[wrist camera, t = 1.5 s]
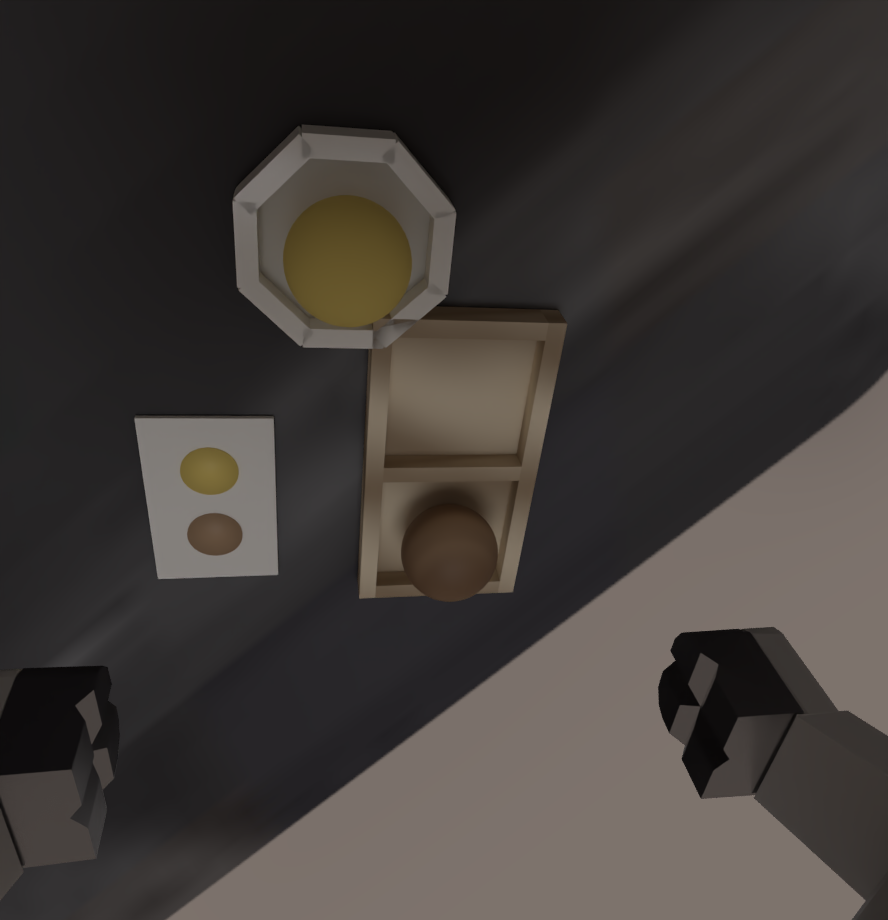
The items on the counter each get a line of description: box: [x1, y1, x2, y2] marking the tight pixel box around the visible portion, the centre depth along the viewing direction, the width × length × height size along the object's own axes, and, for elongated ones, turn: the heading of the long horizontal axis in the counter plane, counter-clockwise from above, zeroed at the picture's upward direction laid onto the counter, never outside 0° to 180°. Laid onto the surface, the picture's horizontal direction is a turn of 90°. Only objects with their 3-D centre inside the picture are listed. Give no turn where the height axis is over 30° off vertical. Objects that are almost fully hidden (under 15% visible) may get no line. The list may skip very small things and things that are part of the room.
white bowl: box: [232, 124, 456, 349], centre depth 25 cm, size 7×7×1 cm
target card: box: [134, 416, 278, 579], centre depth 31 cm, size 8×5×1 cm, turn 174°
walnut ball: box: [401, 504, 498, 602], centre depth 32 cm, size 4×4×4 cm
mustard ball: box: [283, 195, 412, 327], centre depth 24 cm, size 4×4×4 cm
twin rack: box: [357, 306, 567, 598], centre depth 31 cm, size 13×7×1 cm, turn 174°
